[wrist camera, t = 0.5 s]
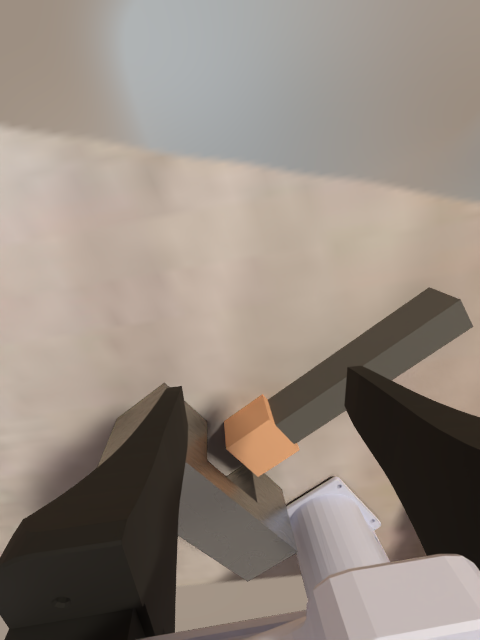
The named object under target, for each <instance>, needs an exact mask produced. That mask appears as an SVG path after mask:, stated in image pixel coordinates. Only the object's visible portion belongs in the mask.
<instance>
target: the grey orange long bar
mask: <svg viewBox="0 0 480 640" xmlns="http://www.w3.org/2000/svg"><path fill="white" fill-rule="evenodd" d="M472 327H473V325H472V323H471V321H470V319H469V317H468V315H467V313H466V310H465V308H464V306H463V304H462V302H461V300H460V299H457V298H455V297H452V296H450V295H447V294H445V293H442V292H440V291H437V290H434V289H432V288H428V289H426V290H425V291H423V292H422V293H420V294H419V295H418V296H416V297H415V298H413V299H412V300H410V301H409V302H408V303H406V304H405V305H403V306H402V307H400V308H399V309H397V310H396V311H395V312H393V313H392V314H390V315H389V316H387V317H386V318H385V319H383V320H382V321H380V322H379V323H377V324H376V325H375V326H373V327H372V328H370V329H369V330H367V331H366V332H365V333H363V334H362V335H360V336H359V337H357V338H356V339H354V340H353V341H352V342H350V343H349V344H347V345H346V346H344V347H343V348H342V349H340V350H339V351H337V352H336V353H334V354H333V355H332V356H330V357H329V358H327V359H326V360H324V361H323V362H322V363H320V364H319V365H317V366H316V367H314V368H313V369H312V370H310V371H309V372H307V373H306V374H304V375H303V376H301V377H300V378H299V379H297V380H296V381H294V382H293V383H291V384H290V385H289V386H287V387H286V388H284V389H283V390H281V391H280V392H279V393H277V394H276V395H274V396H273V397H271V398H270V399H269V400H267V399H266V398H265V397H264V396H263V395H261V396H259V397H258V398H257V399H255V400H254V401H252V402H251V403H249V404H248V405H247V406H245V407H244V408H242V409H241V410H240V411H238V412H237V413H235V414H234V415H232V416H231V417H230V418H228V419H227V420H225V421H224V427H225V440H226V449H227V450H228V451H229V452H230V453H232V454H233V455H234V456H235V457H236V458H237V459H238V460H239V461H241V462H242V463H243V464H244V465H245V466H246V467H247V468H248V469H250V470H251V471H252V472H253V473H254V474H255V475H256V476H257V477H259V476H260V475H262V474H263V473H265V472H266V471H268V470H270V469H271V468H273V467H274V466H276V465H277V464H279V463H280V462H282V461H283V460H285V459H286V458H288V457H289V456H291V455H292V454H294V453H296V452H297V451H299V447H298V445H297V442H299V441H300V440H302V439H303V438H305V437H306V436H308V435H309V434H311V433H312V432H314V431H315V430H317V429H318V428H320V427H321V426H323V425H324V424H326V423H328V422H329V421H331V420H332V419H334V418H335V417H337V416H338V415H340V414H341V413H343V412H344V411H346V408H345V406H344V403H345V391H346V379H347V367H353V366H363V367H365V368H368V369H370V370H372V371H374V372H376V373H378V374H380V375H382V376H383V377H385V378H387V379H389V380H393V379H394V378H396V377H397V376H399V375H400V374H402V373H403V372H405V371H406V370H408V369H410V368H411V367H413V366H414V365H416V364H417V363H419V362H420V361H422V360H423V359H425V358H426V357H428V356H429V355H431V354H432V353H434V352H435V351H437V350H438V349H440V348H441V347H443V346H444V345H446V344H448V343H449V342H451V341H452V340H454V339H455V338H457V337H458V336H460V335H461V334H463V333H464V332H466V331H467V330H469V329H470V328H472Z"/></svg>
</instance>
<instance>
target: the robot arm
mask: <svg viewBox="0 0 480 640" xmlns="http://www.w3.org/2000/svg"><path fill="white" fill-rule="evenodd" d="M344 406H345V408H346V410H347V412H348V415H349V417H350V419H351V421H352V423H353V425H354V427H355V428H356V430H357V431H358V433H359V434H360V436H361V437H362V439H363V441H364V442H365V444H366V445H367V447H368V448H369V450H370V451H371V453H372V454H373V456H374V457H375V459H376V460H377V462H378V463H379V465H380V466H381V468H382V469H383V471H384V472H385V474H386V476H387V477H388V479H389V480H390V482H391V484H392V486H393V488H394V490H395V492H396V494H397V495H398V497H399V499H400V501H401V503H402V505H403V507H404V509H405V511H406V513H407V515H408V517H409V519H410V521H411V523H412V525H413V527H414V529H415V531H416V533H417V535H418V537H419V539H420V541H421V544H422V546H423V548H424V550H425V552H426V554H427V556H424V557H417V558H411V559H405V560H399V561H393V562H390V561H389V559H388V557H387V555H386V553H385V551H384V549H383V547H382V545H381V543H380V541H379V539H378V537H377V535H376V533H375V531H374V530H375V529H377V528H379V527H380V526H381V523H380V521H379V519H378V518H377V517H376V516H375V515H374V514H373V513H372V512H371V511H370V510H369V509H368V508H367V507H366V506H365V504H364V503H363V502H362V501H361V500H360V499H359V498H358V497H357V496H356V495H355V494H354V493H353V492H352V491H351V490H350V489H349V487H348V486H347V485H346V484H345V483H344V482H343V481H342V480H341V479H340V478H339V477H333V478H331V479H330V480H328V481H326V482H325V483H323V484H322V485H320V486H318V487H317V488H315V489H313V490H312V491H310V492H309V493H307V494H305V495H304V496H302V497H301V498H299V499H297V500H296V501H294V502H293V503H291V504H289V505H288V506H286V508H287V511H288V515H289V519H290V523H291V527H292V531H293V534H294V538H295V542H296V546H297V550H298V552H297V553H296V555H297V559H298V563H299V567H300V571H301V575H302V578H303V582H304V586H305V590H306V594H307V598H308V603H307V610H302V611H297V612H291V613H285V614H279V615H274V616H268V617H262V618H256V619H251V620H245V621H239V622H233V623H228V624H222V625H216V626H210V627H205V628H199V629H193V630H188V631H182V632H176V633H175V597H176V596H175V595H176V564H177V539H178V519H179V506H180V497H181V490H182V483H183V476H184V469H185V462H186V455H187V448H188V421H187V415H186V409H185V403H184V397H183V391H182V386H179V387H170V388H167V389H166V390H165V391H164V392H163V394H162V395H161V397H160V398H159V400H158V401H157V403H156V404H155V405H154V407H153V408H152V410H151V411H150V412H149V414H148V415H147V416H146V418H145V419H144V420H143V421H142V423H141V424H140V425H139V426H138V427H137V429H136V430H135V431H134V432H133V433H132V435H131V436H130V437H129V438H128V439H127V440H126V441H125V442H124V443H123V444H122V446H121V447H120V448H119V449H118V450H116V451H115V452H114V453H113V454H112V455H111V456H110V457H109V458H108V459H107V460H106V461H104V462H103V463H102V464H101V465H100V466H99V467H97V468H96V469H95V470H94V471H93V472H92V473H90V474H89V475H88V476H87V477H85V478H84V479H83V480H81V481H80V482H79V483H78V484H76V485H75V486H74V487H72V488H71V489H69V490H68V491H67V492H65V493H64V494H62V495H61V496H59V497H58V498H57V499H55V500H53V501H52V502H50V503H49V504H47V505H46V506H44V507H42V508H41V509H39V510H38V511H36V512H35V513H33V514H32V515H30V516H28V517H27V518H25V519H23V520H22V522H21V523H20V525H19V527H18V528H17V530H16V531H15V533H14V534H13V536H12V538H11V539H10V541H9V543H8V545H7V546H6V548H5V550H4V552H3V554H2V555H1V557H0V615H1V617H2V618H3V620H4V621H5V623H6V624H7V626H8V627H9V631H8V633H7V635H6V638H5V640H480V417H477V416H473V415H470V414H467V413H465V412H462V411H459V410H456V409H454V408H451V407H448V406H446V405H443V404H440V403H438V402H436V401H433V400H431V399H429V398H426V397H424V396H422V395H420V394H418V393H415V392H413V391H411V390H409V389H407V388H405V387H403V386H401V385H399V384H397V383H395V382H393V381H391V380H389V379H387V378H385V377H383V376H382V375H380V374H378V373H376V372H374V371H372V370H370V369H368V368H365V367H363V366H353V367H347V379H346V391H345V403H344Z"/></svg>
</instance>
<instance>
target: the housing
mask: <svg viewBox="0 0 480 640" xmlns="http://www.w3.org/2000/svg"><path fill="white" fill-rule="evenodd" d="M167 388H170V387H169V386H167V385H166V384H165V383H164V384H162V385H161V386H160V387H158V388H157V389H156V390H154V391H153V392H152V393H150V394H149V395H148V396H146V397H145V398H144V399H142V400H141V401H140V402H138V403H137V404H136V405H135V406H133V407H132V408H131V409H129V410H128V411H127V412H125V413H124V414H123V415H121V416H120V417H119V418H117V420H116V423H115V425H114V428H113V430H112V432H111V435H110V437H109V440H108V442H107V445H106V447H105V450H104V452H103V455H102V457H101V460H100V462H99V465H98V467H99V466H100V465H101V464H102V463H103V462H104V461H106V460H107V459H108V458H109V457H110V456H111V455H112V454H113V453H114V452H115V451H116V450H118V449H119V448H120V447H121V446H122V444H123V443H124V442H125V441H126V440H127V439H128V438H129V437H130V436H131V435H132V433H133V432H134V431H135V430H136V429H137V427H138V426H139V425H140V424H141V423H142V421H143V420H144V419H145V418H146V416H147V415H148V414H149V412H150V411H151V410H152V408H153V407H154V405H155V404H156V403H157V401H158V400H159V398H160V397H161V395H162V394H163V392H164V391H165V390H166V389H167ZM184 403H185V409H186V415H187V421H188V448H187V455H186V462H185V469H184V476H183V483H182V490H181V497H180V506H179V519H178V536H180V537H181V538H183V539H184V540H186V541H187V542H189V543H190V544H192V545H193V546H195V547H196V548H198V549H199V550H201V551H202V552H204V553H205V554H207V555H208V556H210V557H211V558H213V559H214V560H216V561H217V562H219V563H220V564H222V565H223V566H225V567H226V568H228V569H229V570H231V571H232V572H234V573H235V574H237V575H238V576H240V577H242V578H243V579H245V580H246V581H250V580H251V579H253V578H255V577H256V576H258V575H260V574H261V573H263V572H265V571H267V570H268V569H270V568H272V567H273V566H275V565H277V564H278V563H280V562H282V561H284V560H285V559H287V558H289V557H290V556H292V555H294V554H295V553H297V552H298V550H297V546H296V542H295V538H294V534H293V531H292V527H291V523H290V519H289V515H288V511H287V508H286V504H285V500H284V496H283V492H282V489H281V488H280V487H279V486H278V485H277V484H275V483H274V482H273V481H272V480H271V479H270V478H269V477H268V476H267V475H266V474H264V473H263V474H262V475H260V476H259V477H257V476H256V475H255V474H254V473H253V472H252V471H251V470H250V469H248V468H247V467H246V466H245V465H243V466H242V467H240V468H239V469H237V470H236V471H234V472H233V473H231V474H230V475H228V476H227V477H226V476H225V475H224V474H223V473H221V472H220V471H219V470H218V469H217V468H215V467H214V466H213V465H212V464H211V463H209V462H208V461H207V421H206V420H205V419H204V418H203V417H202V416H200V415H199V414H198V413H197V412H196V411H195V410H194V409H193V408H192V407H191V406H189V405H188V404H187V403H186V402H185V401H184Z"/></svg>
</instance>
